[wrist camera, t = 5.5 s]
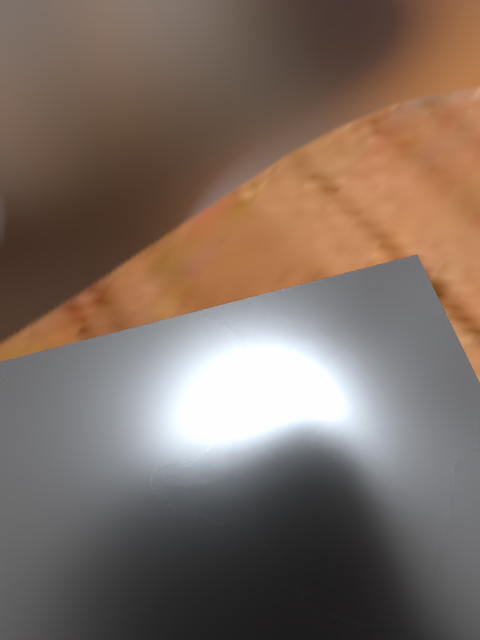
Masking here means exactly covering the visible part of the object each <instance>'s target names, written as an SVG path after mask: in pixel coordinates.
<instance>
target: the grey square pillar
mask: <svg viewBox="0 0 480 640" xmlns="http://www.w3.org/2000/svg"><path fill="white" fill-rule="evenodd" d="M0 640H480V383H479V380H478V378H477V376H476V374H475V372H474V370H473V368H472V366H471V364H470V362H469V360H468V358H467V356H466V354H465V352H464V350H463V348H462V346H461V344H460V341H459V339H458V337H457V335H456V333H455V331H454V329H453V327H452V325H451V323H450V321H449V319H448V317H447V315H446V313H445V311H444V309H443V307H442V305H441V303H440V300H439V298H438V296H437V294H436V292H435V290H434V288H433V286H432V284H431V282H430V280H429V278H428V276H427V274H426V272H425V270H424V268H423V266H422V264H421V261H420V259H419V257H418V255H414V256H410V257H406V258H402V259H398V260H394V261H390V262H387V263H383V264H379V265H375V266H371V267H367V268H363V269H359V270H355V271H352V272H348V273H344V274H340V275H336V276H332V277H328V278H324V279H320V280H317V281H313V282H309V283H305V284H301V285H297V286H293V287H289V288H285V289H282V290H278V291H274V292H270V293H266V294H262V295H258V296H254V297H250V298H247V299H243V300H239V301H235V302H231V303H227V304H223V305H219V306H216V307H212V308H208V309H204V310H200V311H196V312H192V313H188V314H184V315H181V316H177V317H173V318H169V319H165V320H161V321H157V322H153V323H149V324H146V325H142V326H138V327H134V328H130V329H126V330H122V331H118V332H114V333H111V334H107V335H103V336H99V337H95V338H91V339H87V340H83V341H79V342H76V343H72V344H68V345H64V346H60V347H56V348H52V349H48V350H44V351H41V352H37V353H33V354H29V355H25V356H21V357H17V358H13V359H10V360H6V361H2V362H0Z"/></svg>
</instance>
